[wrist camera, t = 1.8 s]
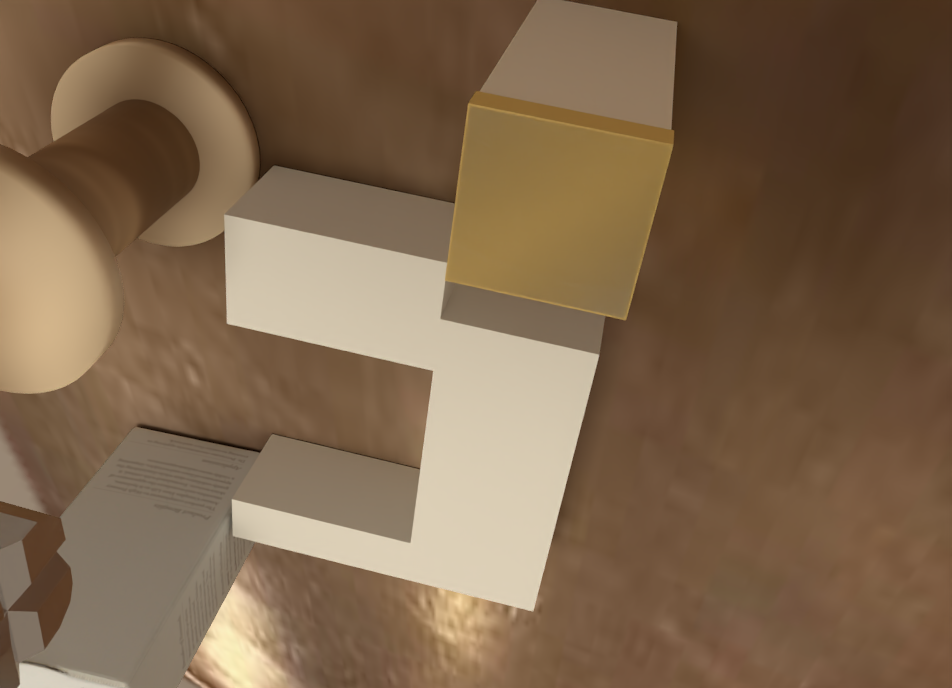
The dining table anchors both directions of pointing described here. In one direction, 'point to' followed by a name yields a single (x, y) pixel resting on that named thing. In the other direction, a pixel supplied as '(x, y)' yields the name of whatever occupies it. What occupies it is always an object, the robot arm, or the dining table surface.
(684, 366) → the dining table surface
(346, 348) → the notched board
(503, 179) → the gold trimmed white carton
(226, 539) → the skincare box
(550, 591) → the dining table surface
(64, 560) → the robot arm
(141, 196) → the spool
